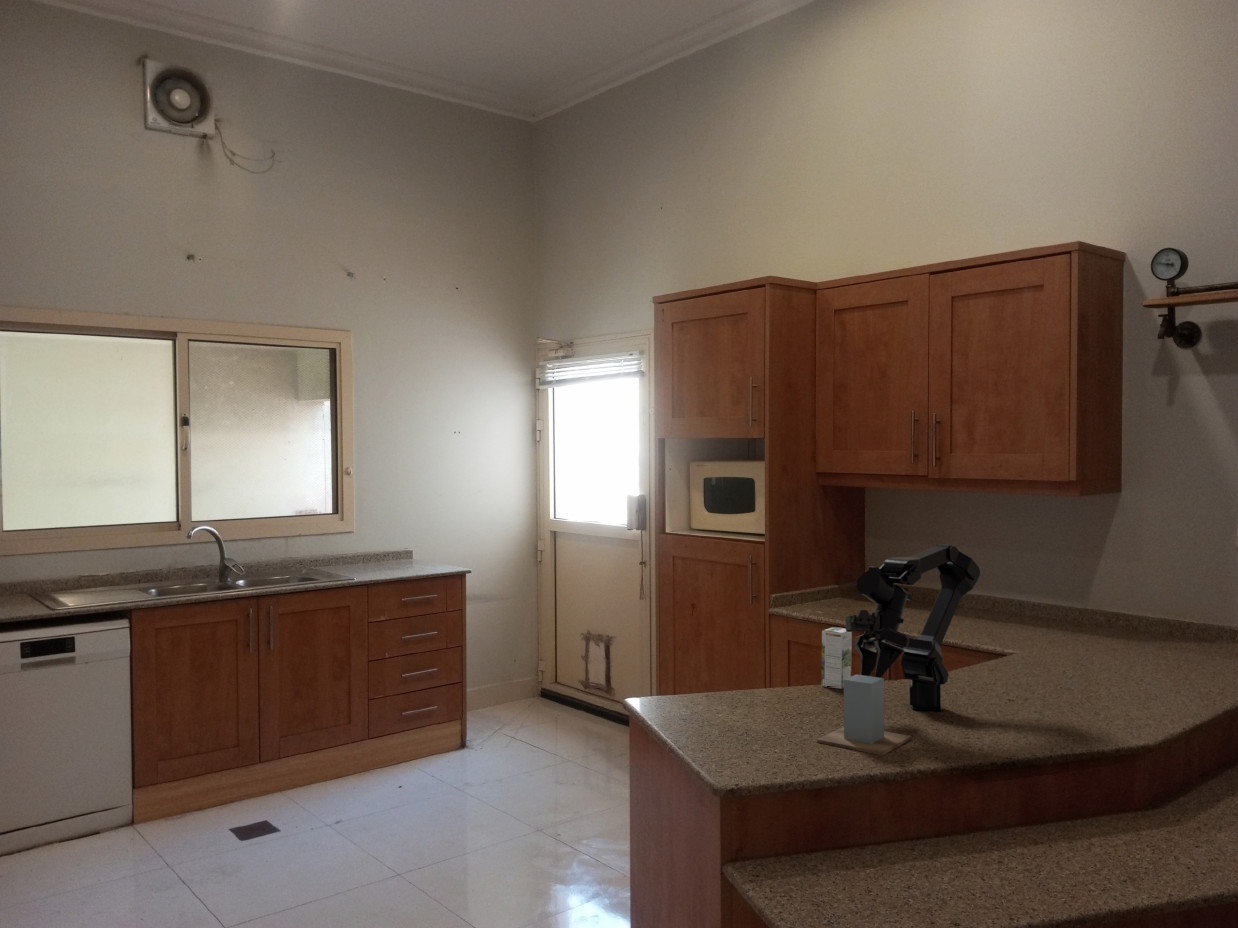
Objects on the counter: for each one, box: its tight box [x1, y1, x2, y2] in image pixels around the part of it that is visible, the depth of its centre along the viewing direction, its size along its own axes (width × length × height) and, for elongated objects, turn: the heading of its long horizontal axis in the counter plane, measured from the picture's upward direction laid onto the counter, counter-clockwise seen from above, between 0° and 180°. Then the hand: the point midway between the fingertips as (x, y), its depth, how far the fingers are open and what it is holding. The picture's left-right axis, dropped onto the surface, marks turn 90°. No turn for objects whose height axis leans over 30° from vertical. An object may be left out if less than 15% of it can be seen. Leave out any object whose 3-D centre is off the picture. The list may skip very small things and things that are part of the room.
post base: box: [816, 726, 912, 756], centre depth 189 cm, size 14×14×5 cm
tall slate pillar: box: [843, 674, 885, 744], centre depth 189 cm, size 6×6×12 cm
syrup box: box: [820, 627, 853, 690], centre depth 237 cm, size 6×6×14 cm
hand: (869, 678), depth 201 cm, fingers open, 9 cm apart
